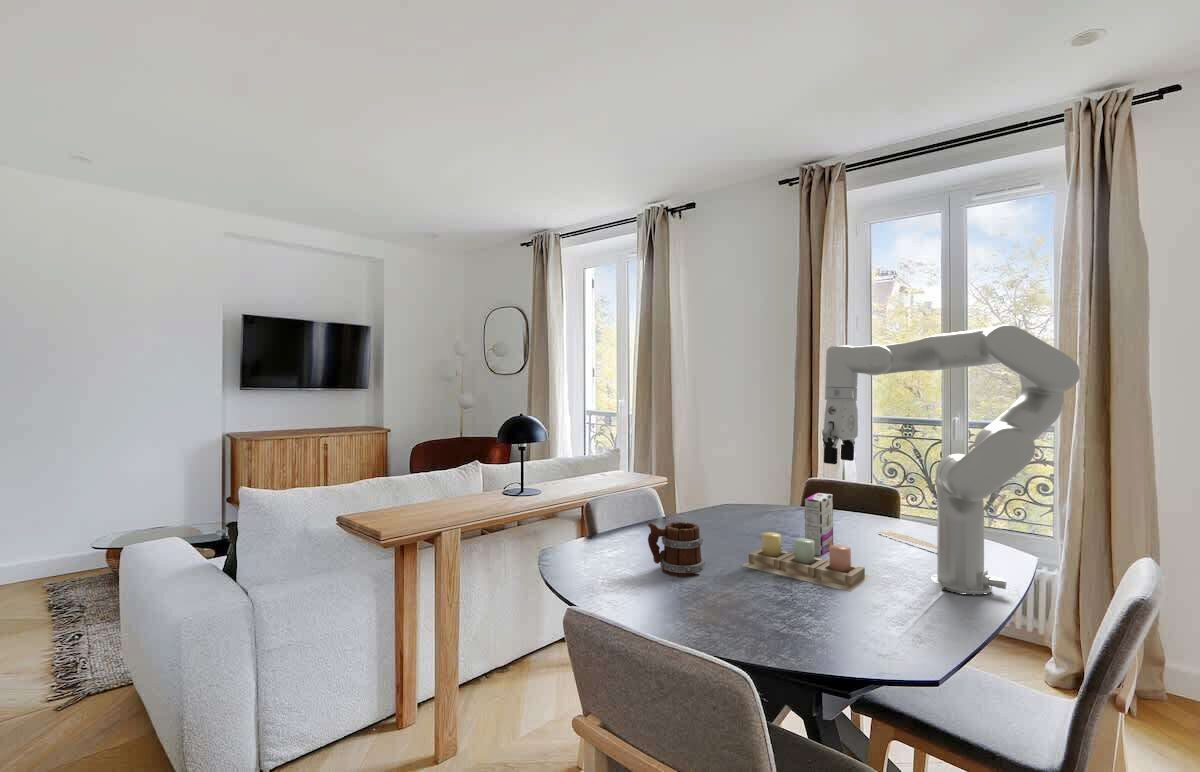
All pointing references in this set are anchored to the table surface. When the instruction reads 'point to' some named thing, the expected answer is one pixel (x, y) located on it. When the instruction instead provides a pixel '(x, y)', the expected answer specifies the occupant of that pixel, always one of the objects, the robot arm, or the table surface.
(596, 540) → the table surface
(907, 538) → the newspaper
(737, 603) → the table surface
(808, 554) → the sage button
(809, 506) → the candy bar box
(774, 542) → the mustard button
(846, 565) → the salmon orange rounded piece
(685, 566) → the mug
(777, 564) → the wooden compartment tray
